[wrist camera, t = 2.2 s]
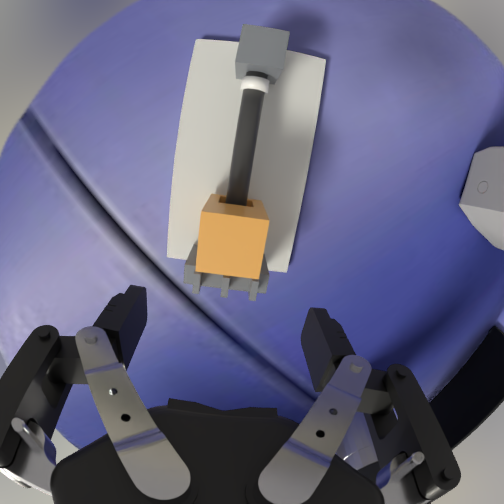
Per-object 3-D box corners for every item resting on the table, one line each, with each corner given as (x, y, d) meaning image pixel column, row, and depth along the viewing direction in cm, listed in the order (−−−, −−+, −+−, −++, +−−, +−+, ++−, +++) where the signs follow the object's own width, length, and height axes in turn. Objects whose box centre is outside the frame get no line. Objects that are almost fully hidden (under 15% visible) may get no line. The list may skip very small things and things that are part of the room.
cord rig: (285, 268, 33) (298, 305, 25) (168, 253, 32) (149, 286, 24) (323, 62, 24) (349, 38, 16) (197, 42, 23) (184, 11, 15)
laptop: (443, 420, 57) (466, 462, 39) (373, 419, 49) (399, 486, 31) (513, 340, 46) (548, 378, 28) (474, 306, 38) (532, 365, 21)
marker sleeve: (253, 245, 30) (258, 279, 22) (206, 239, 29) (195, 271, 22) (261, 200, 28) (269, 220, 21) (211, 193, 28) (200, 211, 20)
